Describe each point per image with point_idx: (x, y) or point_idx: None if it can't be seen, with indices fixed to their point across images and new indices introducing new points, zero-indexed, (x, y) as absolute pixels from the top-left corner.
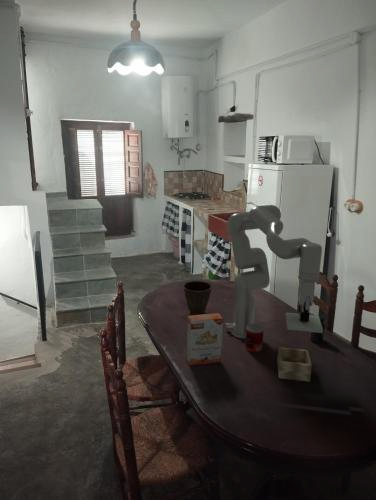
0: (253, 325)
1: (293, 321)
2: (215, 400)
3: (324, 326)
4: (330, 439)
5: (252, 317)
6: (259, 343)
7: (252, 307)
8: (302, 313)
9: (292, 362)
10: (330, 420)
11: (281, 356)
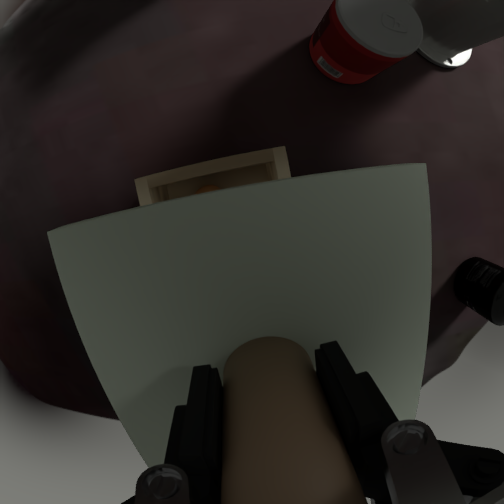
0: (405, 13)
1: (200, 278)
2: (13, 50)
3: (494, 322)
4: (8, 336)
5: (473, 25)
6: (335, 61)
7: (501, 6)
8: (189, 448)
9: None
10: (54, 341)
11: (191, 175)
